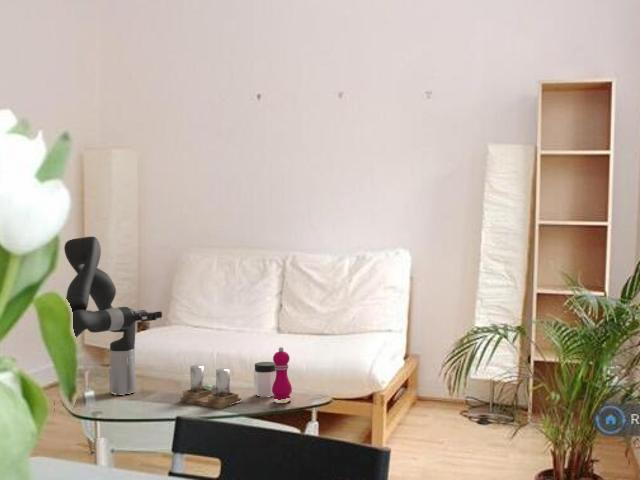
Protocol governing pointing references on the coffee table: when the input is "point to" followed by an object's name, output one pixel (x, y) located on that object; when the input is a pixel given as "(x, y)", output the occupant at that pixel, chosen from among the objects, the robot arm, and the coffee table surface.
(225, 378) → the seated billet
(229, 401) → the wooden tray
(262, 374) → the jar
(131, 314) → the robot arm
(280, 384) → the pepper mill
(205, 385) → the button
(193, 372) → the cylinder
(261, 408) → the coffee table surface
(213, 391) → the grey square box
